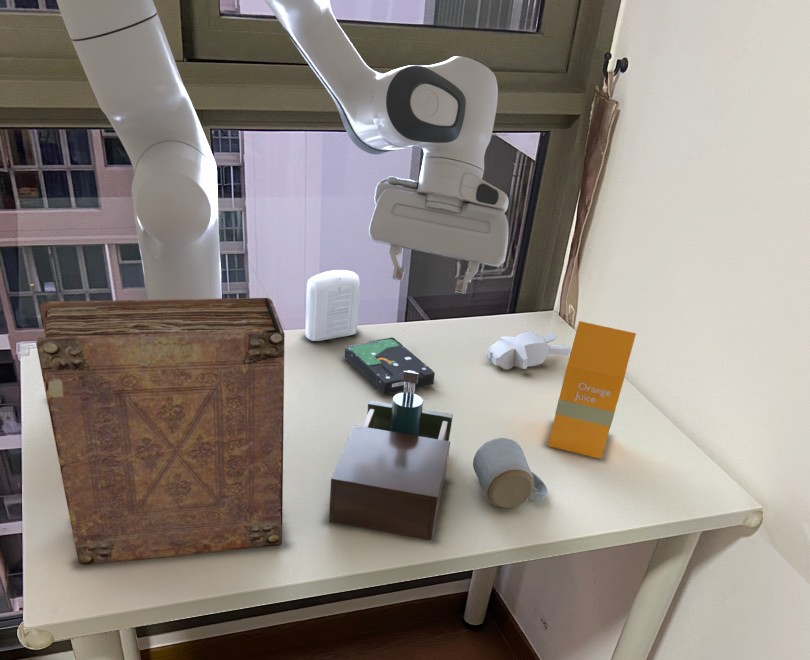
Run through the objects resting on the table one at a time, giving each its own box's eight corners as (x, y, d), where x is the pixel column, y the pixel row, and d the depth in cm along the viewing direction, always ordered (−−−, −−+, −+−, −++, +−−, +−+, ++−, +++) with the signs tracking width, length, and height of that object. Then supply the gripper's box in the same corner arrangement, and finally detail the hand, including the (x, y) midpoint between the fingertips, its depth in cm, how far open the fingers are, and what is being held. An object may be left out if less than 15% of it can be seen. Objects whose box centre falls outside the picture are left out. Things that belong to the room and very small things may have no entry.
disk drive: (434, 386, 148) (391, 349, 157) (436, 372, 146) (393, 335, 156) (384, 397, 143) (342, 358, 152) (385, 382, 141) (343, 344, 151)
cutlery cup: (385, 457, 125) (393, 376, 117) (390, 442, 129) (398, 362, 120) (414, 462, 125) (424, 381, 117) (418, 447, 128) (428, 367, 120)
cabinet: (350, 466, 126) (353, 424, 121) (444, 482, 125) (450, 441, 120) (328, 522, 115) (331, 478, 110) (431, 540, 114) (437, 497, 109)
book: (76, 565, 103) (32, 339, 84) (77, 520, 110) (37, 301, 91) (283, 545, 110) (284, 331, 91) (272, 503, 117) (271, 296, 98)
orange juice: (555, 423, 142) (582, 311, 129) (607, 436, 140) (639, 323, 128) (547, 446, 136) (574, 331, 123) (601, 459, 134) (634, 344, 122)
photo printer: (348, 326, 163) (352, 263, 156) (360, 335, 161) (364, 272, 153) (301, 334, 158) (303, 270, 151) (312, 344, 156) (314, 279, 148)
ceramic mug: (483, 513, 120) (493, 468, 115) (468, 480, 126) (477, 436, 121) (552, 510, 122) (565, 467, 117) (534, 478, 128) (545, 435, 123)
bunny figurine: (480, 334, 157) (551, 319, 161) (479, 358, 160) (549, 343, 164) (503, 357, 150) (577, 341, 154) (501, 382, 154) (573, 366, 158)
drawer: (372, 418, 136) (374, 387, 132) (451, 431, 135) (456, 401, 131) (349, 477, 122) (351, 444, 118) (437, 492, 121) (442, 460, 118)
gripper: (374, 169, 118) (356, 270, 122) (517, 197, 116) (494, 299, 120) (382, 177, 124) (364, 273, 128) (518, 204, 122) (496, 301, 126)
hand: (428, 286), depth 124 cm, fingers open, 8 cm apart
